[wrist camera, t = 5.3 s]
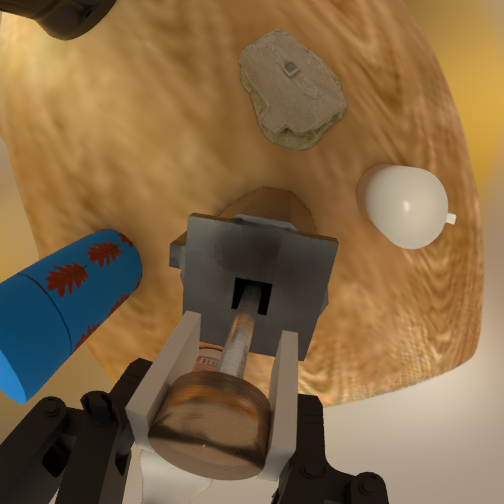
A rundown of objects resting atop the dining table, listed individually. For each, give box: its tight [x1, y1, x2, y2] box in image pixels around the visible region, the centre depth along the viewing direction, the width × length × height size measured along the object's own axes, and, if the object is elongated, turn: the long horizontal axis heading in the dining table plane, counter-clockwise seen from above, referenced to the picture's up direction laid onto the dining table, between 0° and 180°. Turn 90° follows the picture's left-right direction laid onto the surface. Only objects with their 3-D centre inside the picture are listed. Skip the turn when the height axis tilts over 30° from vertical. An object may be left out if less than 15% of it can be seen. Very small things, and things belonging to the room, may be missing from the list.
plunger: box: [148, 277, 272, 480], centre depth 16 cm, size 8×8×18 cm
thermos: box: [0, 230, 142, 404], centre depth 27 cm, size 11×11×25 cm
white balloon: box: [356, 164, 456, 249], centre depth 27 cm, size 8×10×9 cm
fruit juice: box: [139, 348, 222, 504], centre depth 30 cm, size 9×9×28 cm
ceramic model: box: [238, 29, 347, 150], centre depth 24 cm, size 14×11×10 cm
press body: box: [169, 187, 339, 361], centre depth 27 cm, size 10×13×17 cm
